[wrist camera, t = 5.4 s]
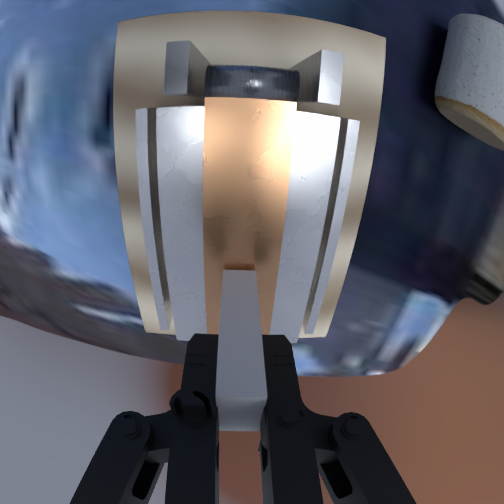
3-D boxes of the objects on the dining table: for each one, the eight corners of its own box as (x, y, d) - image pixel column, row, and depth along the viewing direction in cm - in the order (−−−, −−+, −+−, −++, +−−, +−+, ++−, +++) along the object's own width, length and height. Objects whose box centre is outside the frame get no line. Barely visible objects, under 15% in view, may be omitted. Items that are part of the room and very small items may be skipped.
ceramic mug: (410, 101, 15) (486, 117, 9) (430, 17, 11) (500, 7, 5) (487, 155, 17) (547, 187, 11) (505, 84, 13) (565, 100, 7)
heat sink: (156, 66, 12) (106, 51, 7) (342, 77, 13) (399, 70, 7) (173, 329, 22) (160, 393, 17) (298, 332, 23) (311, 396, 18)
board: (129, 28, 12) (118, 21, 10) (372, 42, 13) (385, 38, 11) (150, 316, 24) (145, 332, 23) (321, 321, 25) (325, 336, 24)
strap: (210, 67, 10) (204, 59, 8) (293, 72, 10) (303, 65, 8) (210, 353, 18) (209, 378, 16) (262, 354, 18) (264, 379, 16)
